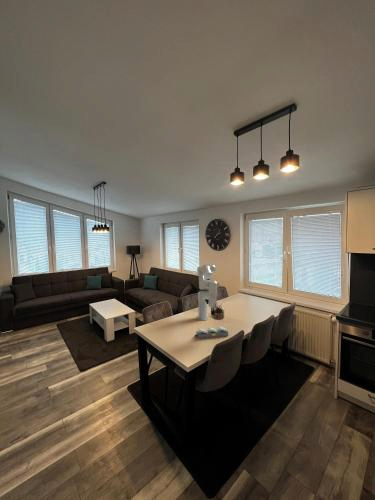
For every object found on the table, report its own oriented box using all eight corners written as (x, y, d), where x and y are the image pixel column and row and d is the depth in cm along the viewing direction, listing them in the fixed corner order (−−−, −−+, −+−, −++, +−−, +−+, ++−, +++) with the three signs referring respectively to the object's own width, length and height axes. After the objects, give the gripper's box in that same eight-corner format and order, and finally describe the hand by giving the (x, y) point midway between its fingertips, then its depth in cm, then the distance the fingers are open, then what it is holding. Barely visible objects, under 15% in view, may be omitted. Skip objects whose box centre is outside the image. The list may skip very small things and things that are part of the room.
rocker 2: (207, 328, 191) (208, 326, 191) (215, 330, 193) (215, 329, 193) (209, 330, 187) (210, 328, 187) (217, 332, 189) (217, 330, 189)
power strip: (193, 335, 190) (193, 330, 190) (224, 332, 198) (225, 327, 198) (195, 339, 184) (196, 333, 183) (228, 335, 191) (228, 330, 191)
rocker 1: (198, 329, 189) (198, 327, 189) (205, 331, 191) (206, 330, 191) (199, 331, 185) (200, 329, 185) (207, 333, 187) (207, 331, 187)
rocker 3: (217, 327, 193) (217, 325, 193) (224, 329, 195) (225, 328, 195) (219, 329, 189) (219, 327, 190) (226, 331, 191) (227, 329, 192)
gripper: (206, 293, 196) (206, 312, 196) (212, 297, 181) (211, 317, 182) (213, 292, 198) (213, 311, 198) (220, 296, 183) (219, 317, 183)
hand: (212, 314), depth 190 cm, fingers closed
